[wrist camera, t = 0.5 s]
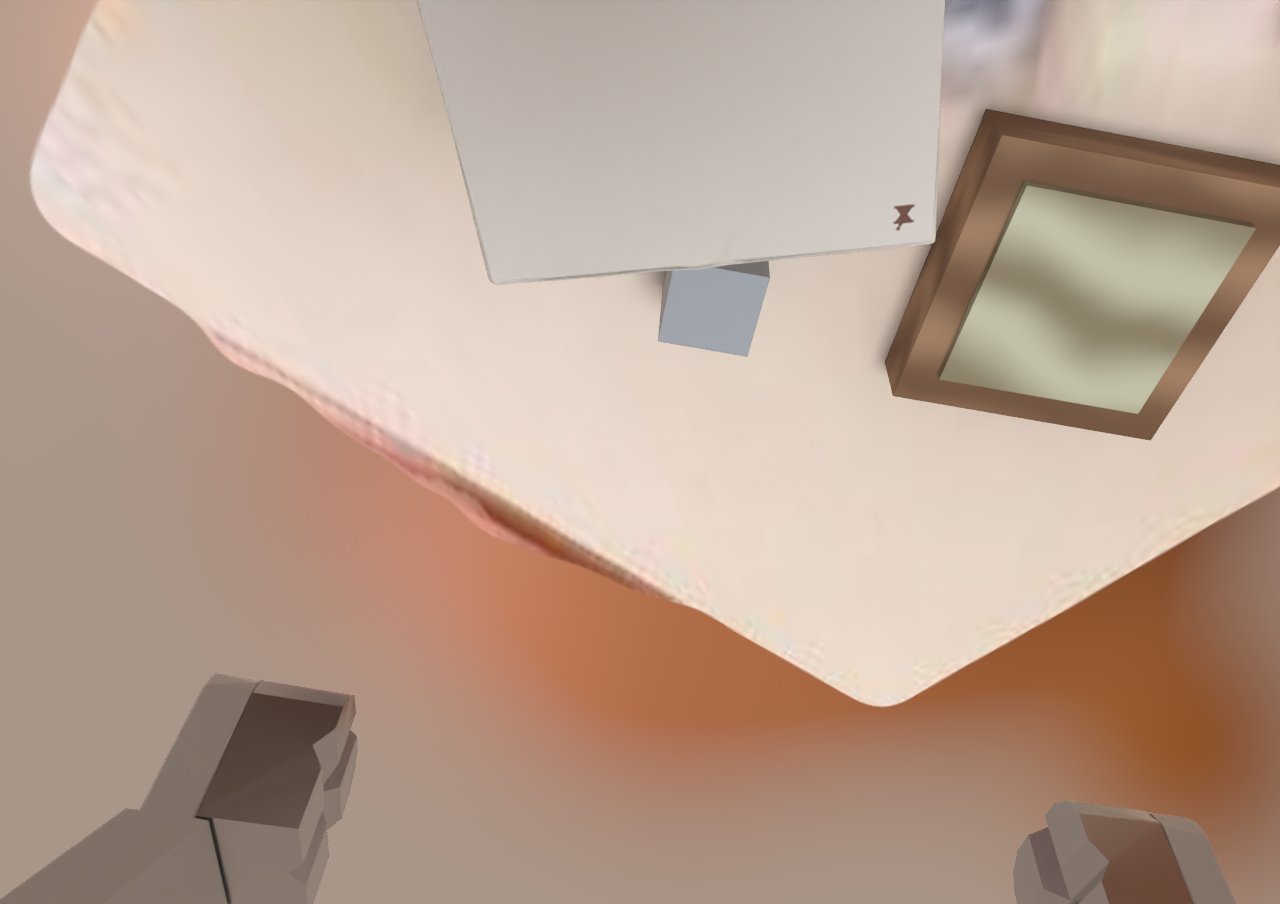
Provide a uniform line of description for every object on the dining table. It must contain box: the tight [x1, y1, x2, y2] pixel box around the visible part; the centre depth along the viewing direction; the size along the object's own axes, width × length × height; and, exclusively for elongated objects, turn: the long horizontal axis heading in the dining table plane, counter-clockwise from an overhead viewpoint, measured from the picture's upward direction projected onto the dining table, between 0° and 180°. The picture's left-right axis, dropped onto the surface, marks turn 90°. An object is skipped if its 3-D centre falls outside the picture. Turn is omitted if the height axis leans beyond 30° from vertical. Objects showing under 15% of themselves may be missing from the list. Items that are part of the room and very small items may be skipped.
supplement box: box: [417, 0, 945, 285], centre depth 38 cm, size 17×13×18 cm
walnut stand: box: [885, 109, 1280, 440], centre depth 53 cm, size 16×16×4 cm
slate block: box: [658, 261, 770, 357], centre depth 53 cm, size 5×5×6 cm
